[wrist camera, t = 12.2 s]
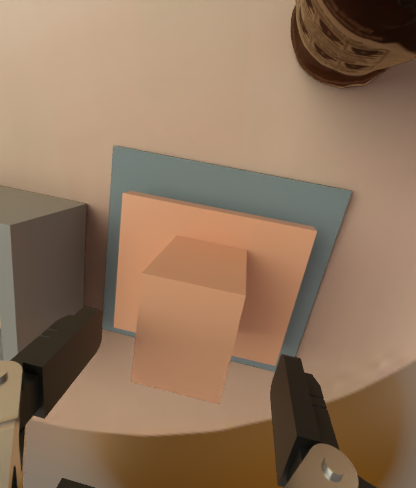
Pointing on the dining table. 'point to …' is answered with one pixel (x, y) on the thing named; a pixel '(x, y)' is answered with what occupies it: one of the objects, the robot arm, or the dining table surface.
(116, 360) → the dining table surface
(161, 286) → the lid
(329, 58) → the coffee cup
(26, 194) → the storage box
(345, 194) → the mat
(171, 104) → the dining table surface
